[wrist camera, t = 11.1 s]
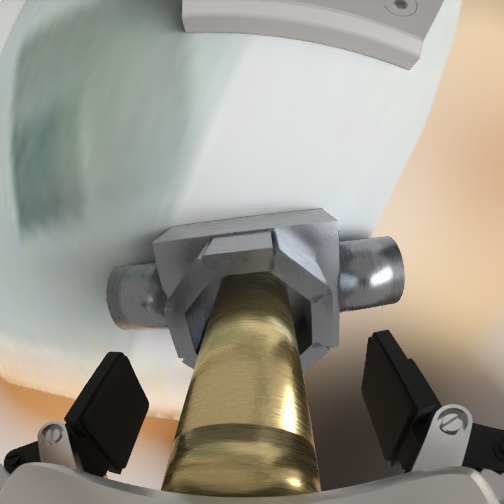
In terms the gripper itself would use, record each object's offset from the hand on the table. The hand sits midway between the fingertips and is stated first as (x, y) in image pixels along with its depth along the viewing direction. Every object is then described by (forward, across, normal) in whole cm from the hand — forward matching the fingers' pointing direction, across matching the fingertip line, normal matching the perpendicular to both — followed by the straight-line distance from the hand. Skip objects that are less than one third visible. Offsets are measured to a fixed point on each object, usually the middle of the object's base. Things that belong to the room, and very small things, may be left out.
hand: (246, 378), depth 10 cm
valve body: (+10, 0, +2) cm, 10 cm away
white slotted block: (+11, -6, -20) cm, 23 cm away
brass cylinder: (+6, 0, 0) cm, 6 cm away
